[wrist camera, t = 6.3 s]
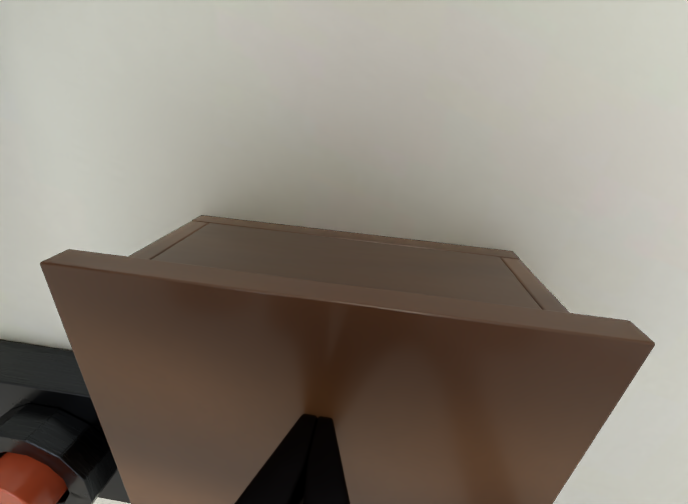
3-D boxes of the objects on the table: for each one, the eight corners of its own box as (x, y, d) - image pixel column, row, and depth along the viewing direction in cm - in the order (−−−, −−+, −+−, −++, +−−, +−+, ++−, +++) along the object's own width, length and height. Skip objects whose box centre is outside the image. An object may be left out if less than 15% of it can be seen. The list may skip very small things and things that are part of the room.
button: (59, 455, 16) (23, 493, 14) (77, 498, 17) (47, 537, 16) (-7, 443, 16) (-50, 479, 15) (17, 487, 18) (-20, 524, 16)
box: (201, 214, 14) (94, 273, 9) (513, 251, 13) (598, 340, 8) (223, 424, 20) (164, 538, 14) (445, 460, 19) (469, 596, 14)
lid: (68, 248, 8) (38, 262, 7) (630, 319, 7) (657, 343, 6) (164, 539, 14) (152, 562, 14) (469, 598, 13) (474, 626, 13)
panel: (172, 365, 18) (111, 438, 14) (190, 465, 22) (145, 547, 18) (-4, 338, 19) (-110, 400, 15) (42, 440, 23) (-34, 512, 19)
